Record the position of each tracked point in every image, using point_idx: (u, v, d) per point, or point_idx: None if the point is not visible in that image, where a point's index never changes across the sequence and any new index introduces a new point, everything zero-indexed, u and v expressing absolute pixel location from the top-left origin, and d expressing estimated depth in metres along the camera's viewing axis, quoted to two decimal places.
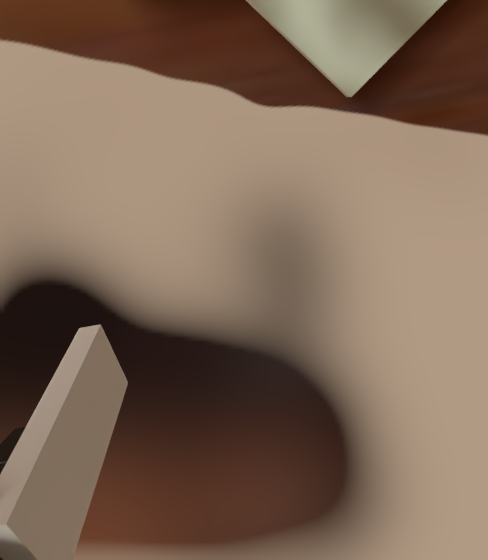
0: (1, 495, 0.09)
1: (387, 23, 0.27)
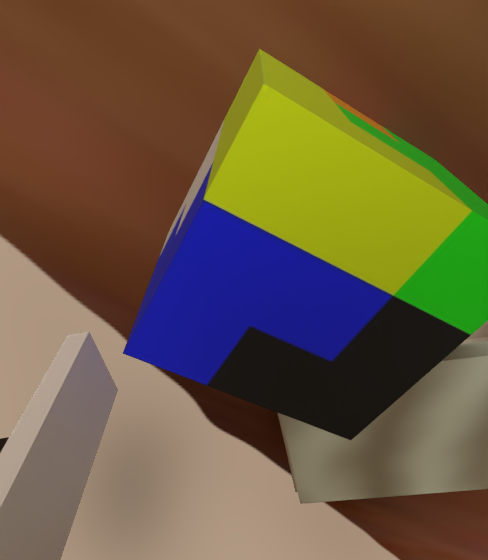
0: None
1: (368, 482, 0.27)
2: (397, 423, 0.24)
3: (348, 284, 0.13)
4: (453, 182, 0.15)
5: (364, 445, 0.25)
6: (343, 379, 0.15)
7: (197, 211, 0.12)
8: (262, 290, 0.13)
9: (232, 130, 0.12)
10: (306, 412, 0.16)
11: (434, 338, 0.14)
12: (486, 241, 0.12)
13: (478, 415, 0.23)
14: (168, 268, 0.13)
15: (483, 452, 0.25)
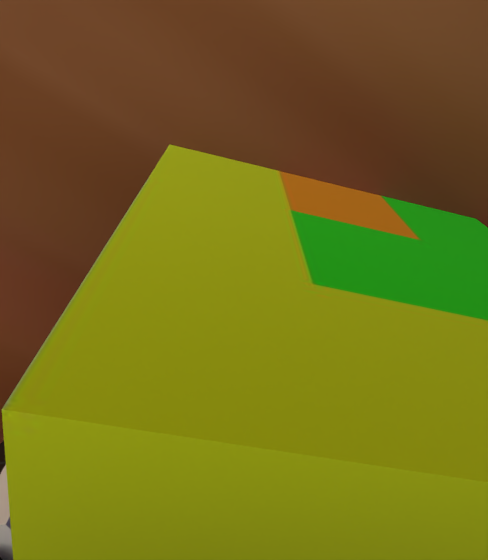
0: (1, 495, 0.09)
1: None
2: None
3: None
4: None
5: None
6: None
7: None
8: None
9: None
10: None
11: None
12: None
13: None
14: None
15: None
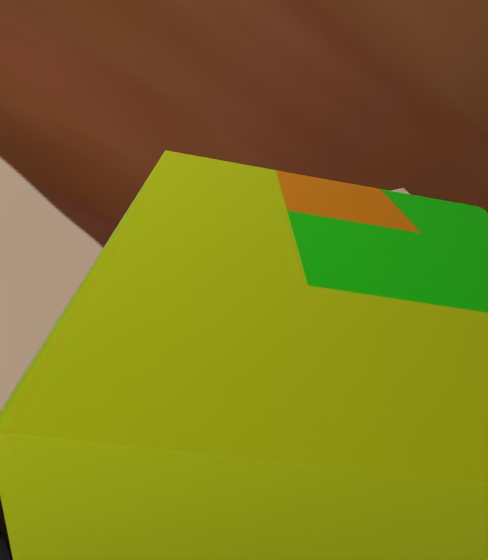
0: None
1: None
2: None
3: None
4: None
5: None
6: None
7: None
8: None
9: None
10: None
11: None
12: None
13: None
14: None
15: None
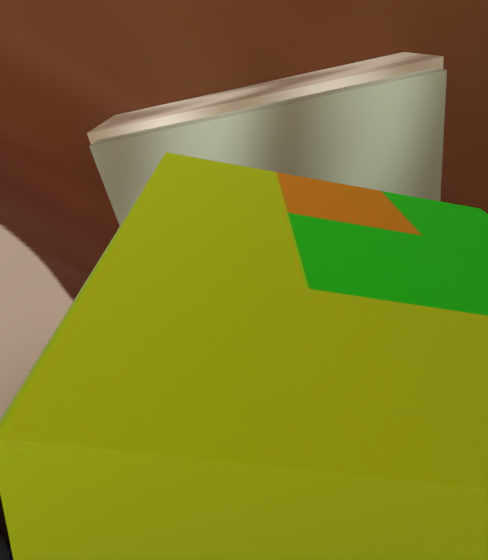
0: None
1: None
2: None
3: None
4: None
5: None
6: None
7: None
8: None
9: None
10: None
11: None
12: None
13: None
14: None
15: None
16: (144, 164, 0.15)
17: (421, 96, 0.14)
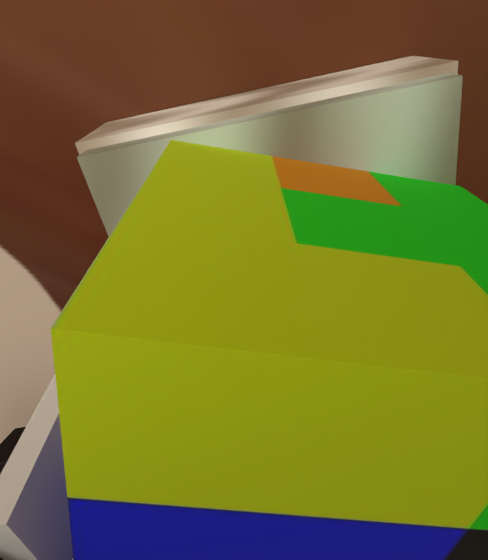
0: (1, 495, 0.09)
1: None
2: None
3: (378, 533, 0.07)
4: None
5: None
6: None
7: (71, 509, 0.07)
8: None
9: None
10: None
11: None
12: None
13: None
14: None
15: None
16: (136, 177, 0.14)
17: (435, 104, 0.13)
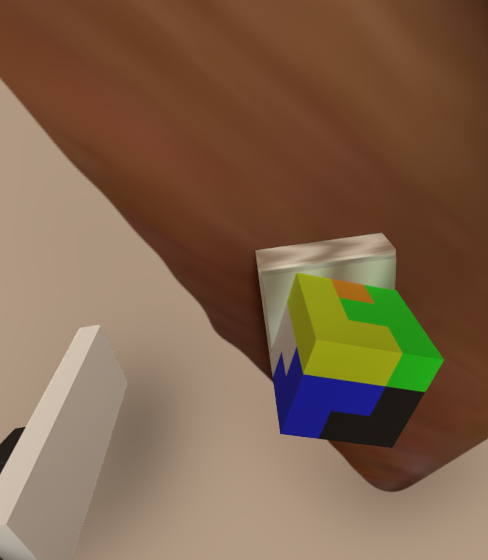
0: (1, 495, 0.09)
1: None
2: None
3: (365, 386, 0.32)
4: (401, 321, 0.34)
5: None
6: (377, 421, 0.34)
7: (301, 377, 0.31)
8: (332, 397, 0.32)
9: (304, 341, 0.32)
10: (366, 439, 0.35)
11: (410, 397, 0.33)
12: (413, 360, 0.31)
13: None
14: (294, 398, 0.32)
15: None
16: (281, 283, 0.39)
17: (387, 265, 0.38)
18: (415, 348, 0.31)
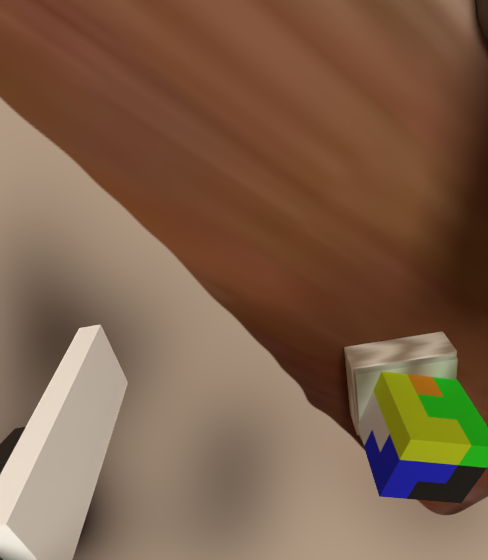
0: (1, 495, 0.09)
1: None
2: None
3: (444, 466, 0.45)
4: (466, 413, 0.47)
5: None
6: (451, 487, 0.47)
7: (398, 461, 0.44)
8: (419, 472, 0.45)
9: (398, 434, 0.45)
10: (442, 498, 0.48)
11: (475, 471, 0.45)
12: (479, 449, 0.43)
13: None
14: (391, 474, 0.45)
15: None
16: (369, 378, 0.52)
17: (450, 364, 0.51)
18: (479, 438, 0.44)
